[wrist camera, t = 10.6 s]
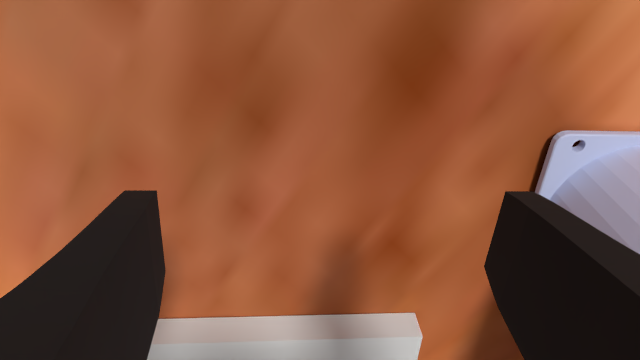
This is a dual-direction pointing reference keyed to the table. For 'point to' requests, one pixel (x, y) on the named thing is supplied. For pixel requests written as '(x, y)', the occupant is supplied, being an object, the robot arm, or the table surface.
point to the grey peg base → (289, 338)
